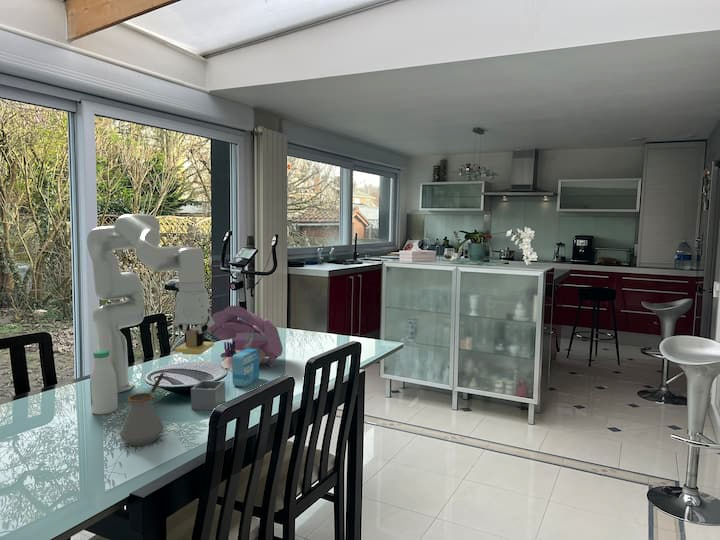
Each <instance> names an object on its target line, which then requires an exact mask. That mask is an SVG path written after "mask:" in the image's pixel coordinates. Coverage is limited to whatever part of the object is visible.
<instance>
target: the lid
mask: <svg viewBox="0 0 720 540" xmlns="http://www.w3.org/2000/svg"><path fill="white" fill-rule="evenodd" d="M197 334H198V327H190V329H189V330H188V331H186V343H187V346H186V343H185V342H183V343H182V344H180V345H179V346H177V347H175V348H174V353H182V355H198V356H199V355H200V356H201V354H204V353H205V352H206V351H208V350H209V349H211V348H212V347H213V346H214V341H204V343H203V344H202V345H201V346H197Z"/></svg>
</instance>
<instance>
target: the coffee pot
mask: <svg viewBox="0 0 720 540" xmlns="http://www.w3.org/2000/svg"><path fill="white" fill-rule="evenodd" d="M164 376H166V377H164ZM167 377H168V375H167V374H166V373H164V372H161V373H160V374H159V376H158V378H157V380H156V381H155V382H154V384H153V385H152V388H151V390H150V392H149V393H148V392H141V393H135V394H132V395H129V396H128V398H127V400H128V402H130V403H129V404H130V407H129V410H128V412H127V415H126V417H125V419H124V422H123V425H122V427H121V429H120V433H119V436H120V438H121V439H122V440H123V441H124V442H126V444H128V443H129V444H128V445H130V446H135V447H136V446H137V447H138V446H146V445H149V444H151V443H154V442H155V441H156V440H157V439H158V438H159V437H160V436H161V434H162V433H163V431H164V425H163V423H162V421H161V419H160V418H159V416H158V414H157V412H156V409H154V406H153V404H152V403H151V402H152V399H153V396H154V395H153V394H154V392H155V391H156V389H157V388H158V387H159V385H160V383H161V381H162V380H163V379H166V378H167Z"/></svg>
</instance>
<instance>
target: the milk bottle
mask: <svg viewBox="0 0 720 540" xmlns="http://www.w3.org/2000/svg"><path fill="white" fill-rule="evenodd" d="M109 357H110V356H109V351H108V350H99V351H98V350H96V351H94V352H93V360H94V364H93V368H92V369H91V372H90V374H89V375H90V376H89V387H90V403H91V406H90V407H91V412H92V414H94V415H106V414H111V413H114V412H116V411H117V410H118V407H119V404H118V393H117V384H116V374H115V371H114V369H113V367H112V365H111V364H110V361H109Z"/></svg>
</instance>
